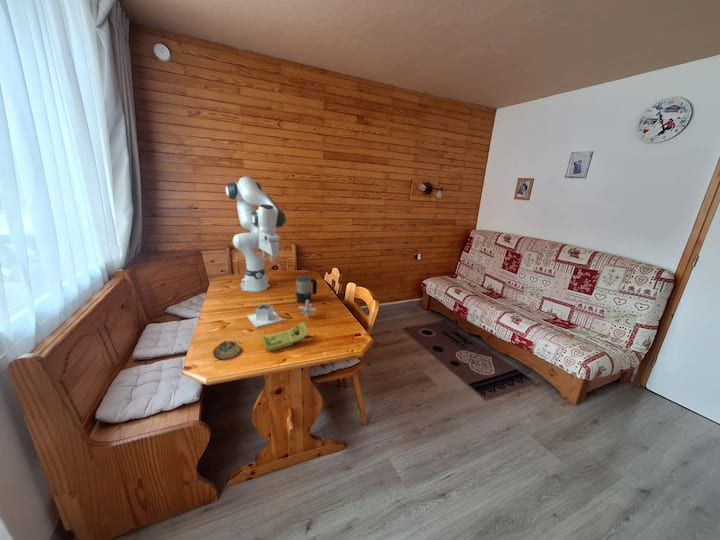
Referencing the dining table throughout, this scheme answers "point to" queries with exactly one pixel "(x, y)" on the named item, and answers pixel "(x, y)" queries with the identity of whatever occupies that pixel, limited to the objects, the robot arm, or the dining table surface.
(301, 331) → the plastic component
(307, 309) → the pipe connector
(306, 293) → the milk frother
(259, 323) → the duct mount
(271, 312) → the sleeve
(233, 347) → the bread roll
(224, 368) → the dining table surface
